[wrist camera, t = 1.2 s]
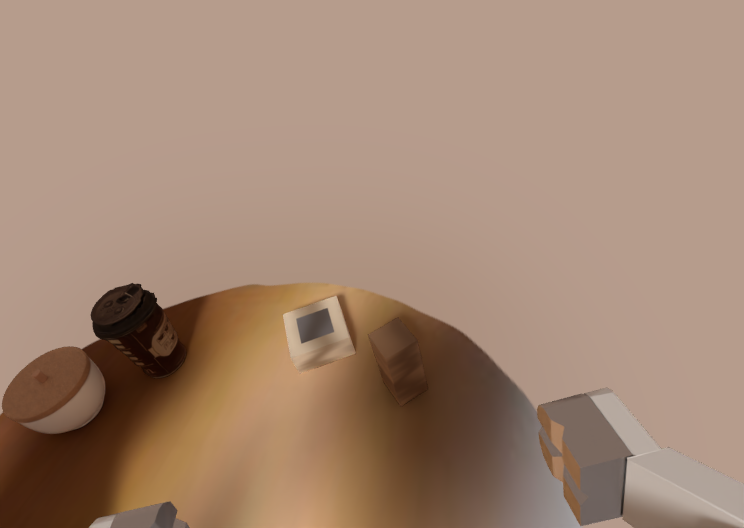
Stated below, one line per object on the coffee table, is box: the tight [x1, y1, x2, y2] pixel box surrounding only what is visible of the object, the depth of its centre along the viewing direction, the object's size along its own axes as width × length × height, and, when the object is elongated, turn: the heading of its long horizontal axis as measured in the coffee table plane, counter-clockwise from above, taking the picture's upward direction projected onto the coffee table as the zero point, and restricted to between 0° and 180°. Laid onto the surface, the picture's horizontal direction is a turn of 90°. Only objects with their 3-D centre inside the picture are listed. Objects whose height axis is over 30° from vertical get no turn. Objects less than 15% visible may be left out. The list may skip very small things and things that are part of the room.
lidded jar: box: [2, 347, 105, 434], centre depth 61 cm, size 11×11×9 cm
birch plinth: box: [283, 296, 356, 374], centre depth 63 cm, size 8×8×4 cm
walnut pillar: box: [368, 318, 428, 406], centre depth 53 cm, size 4×4×10 cm
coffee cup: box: [91, 283, 186, 378], centre depth 63 cm, size 9×8×13 cm
